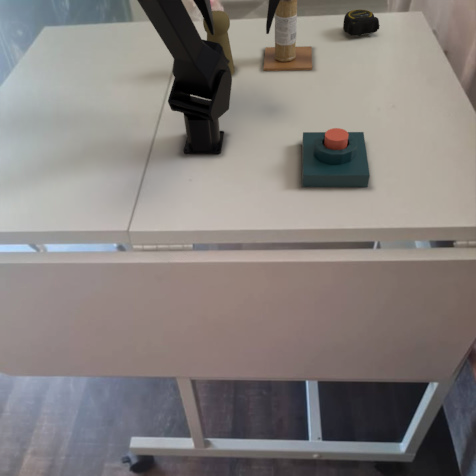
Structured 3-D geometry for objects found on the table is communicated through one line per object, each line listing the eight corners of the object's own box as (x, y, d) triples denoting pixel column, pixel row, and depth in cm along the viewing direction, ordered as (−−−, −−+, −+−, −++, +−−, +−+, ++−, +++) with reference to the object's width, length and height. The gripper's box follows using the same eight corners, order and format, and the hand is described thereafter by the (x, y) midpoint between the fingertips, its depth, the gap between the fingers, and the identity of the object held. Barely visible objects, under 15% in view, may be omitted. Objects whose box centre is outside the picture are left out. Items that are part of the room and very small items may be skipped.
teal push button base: (367, 187, 74) (371, 164, 71) (302, 187, 75) (303, 164, 72) (361, 143, 81) (365, 121, 78) (302, 143, 82) (303, 122, 79)
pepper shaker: (222, 81, 97) (218, 21, 89) (200, 74, 100) (193, 15, 91) (240, 69, 100) (237, 10, 92) (218, 62, 103) (213, 4, 94)
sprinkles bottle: (285, 51, 103) (287, -23, 93) (300, 57, 101) (303, -17, 90) (269, 58, 102) (269, -16, 91) (283, 65, 99) (285, -10, 89)
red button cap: (347, 151, 74) (349, 140, 72) (324, 151, 74) (325, 140, 73) (346, 138, 76) (347, 127, 75) (323, 138, 76) (324, 128, 75)
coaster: (311, 70, 98) (312, 67, 98) (263, 70, 99) (263, 68, 99) (311, 48, 104) (311, 46, 104) (265, 49, 105) (265, 47, 105)
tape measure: (348, 41, 106) (351, 22, 103) (338, 29, 110) (340, 10, 107) (378, 36, 106) (381, 18, 103) (366, 24, 110) (369, 6, 108)
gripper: (300, -103, 72) (296, 13, 84) (179, -97, 74) (192, 16, 86) (300, -83, 65) (296, 40, 77) (166, -77, 67) (182, 42, 79)
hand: (240, 33), depth 80 cm, fingers open, 9 cm apart
